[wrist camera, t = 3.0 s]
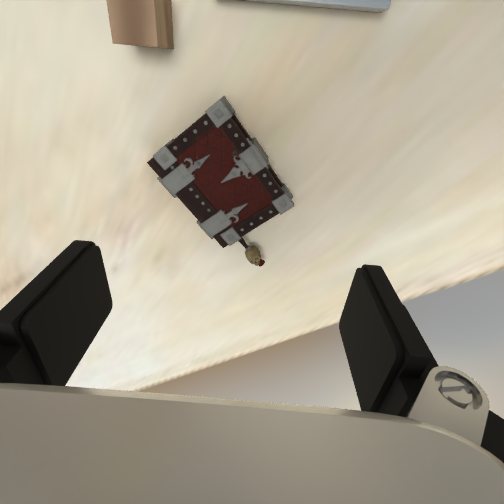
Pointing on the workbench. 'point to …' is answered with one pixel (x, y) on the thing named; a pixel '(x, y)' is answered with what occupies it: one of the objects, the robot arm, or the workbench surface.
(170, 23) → the walnut block
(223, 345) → the workbench surface
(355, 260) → the workbench surface
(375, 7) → the tray
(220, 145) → the book
